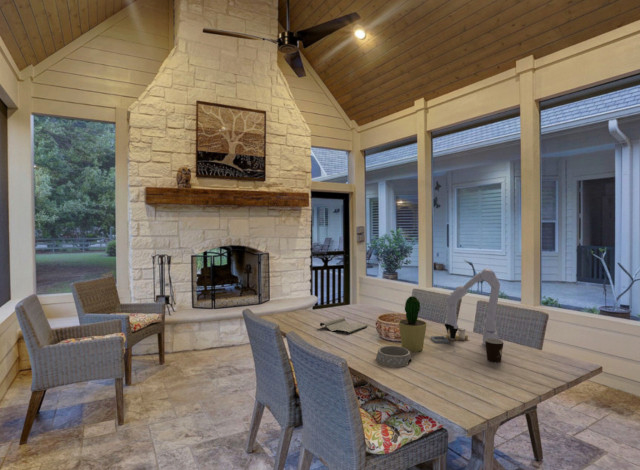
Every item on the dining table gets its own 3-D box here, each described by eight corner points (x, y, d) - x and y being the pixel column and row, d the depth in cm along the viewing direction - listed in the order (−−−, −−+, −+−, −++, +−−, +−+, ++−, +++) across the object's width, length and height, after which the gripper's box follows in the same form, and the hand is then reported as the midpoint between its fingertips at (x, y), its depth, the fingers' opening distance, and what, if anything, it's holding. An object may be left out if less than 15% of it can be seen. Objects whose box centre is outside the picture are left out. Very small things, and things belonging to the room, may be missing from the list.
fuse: (466, 340, 225) (466, 330, 225) (459, 340, 225) (460, 330, 225) (463, 338, 229) (463, 328, 229) (457, 338, 229) (457, 328, 229)
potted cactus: (415, 355, 202) (415, 299, 201) (392, 347, 214) (393, 295, 213) (432, 348, 212) (432, 295, 211) (409, 342, 223) (410, 291, 223)
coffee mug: (492, 364, 189) (493, 344, 188) (481, 358, 197) (481, 339, 197) (512, 361, 192) (512, 342, 192) (499, 356, 200) (500, 337, 200)
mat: (348, 336, 238) (348, 328, 237) (319, 329, 252) (319, 322, 252) (368, 328, 256) (368, 321, 256) (339, 322, 270) (339, 316, 270)
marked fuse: (455, 340, 225) (456, 330, 225) (449, 340, 225) (449, 330, 225) (453, 338, 229) (453, 328, 229) (446, 338, 229) (446, 328, 229)
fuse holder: (470, 342, 224) (470, 336, 224) (447, 342, 223) (447, 337, 223) (465, 338, 231) (465, 333, 231) (443, 338, 230) (443, 333, 230)
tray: (448, 344, 220) (448, 340, 220) (435, 344, 220) (435, 340, 220) (443, 339, 228) (443, 336, 228) (430, 340, 228) (430, 336, 228)
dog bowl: (415, 358, 198) (415, 348, 197) (404, 370, 182) (404, 359, 182) (384, 352, 206) (384, 343, 206) (371, 363, 190) (371, 352, 190)
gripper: (440, 312, 234) (440, 333, 234) (449, 317, 219) (449, 341, 219) (451, 311, 234) (451, 333, 234) (461, 317, 219) (461, 340, 220)
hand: (451, 337), depth 227 cm, fingers closed on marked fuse, 4 cm apart
